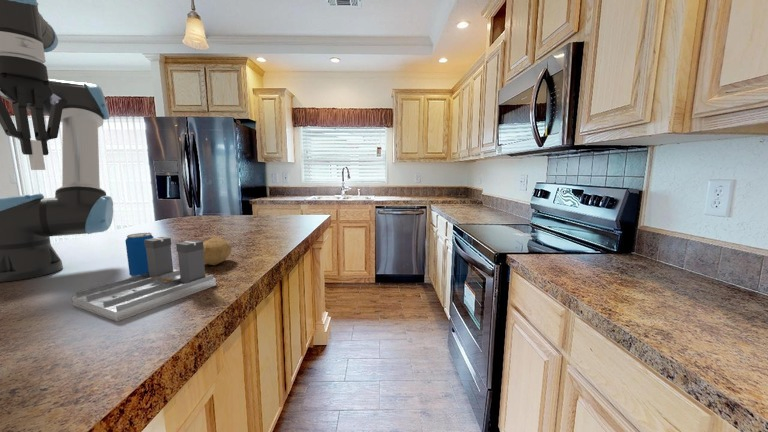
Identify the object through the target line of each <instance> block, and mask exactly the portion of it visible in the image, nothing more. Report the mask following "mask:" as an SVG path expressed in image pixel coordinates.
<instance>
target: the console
mask: <svg viewBox="0 0 768 432" xmlns="http://www.w3.org/2000/svg"><path fill="white" fill-rule="evenodd" d="M216 279H217V278H216V277H214V274H209V275H205V277H202V278H199V279H196V280H193V281H190V282H187V283H183V282H181V278H180V269H174V268H173V272H169V273H166V274H162V275H158V276H155V277H150V276H149V273H145V274H141V275H138V276H134V277H133V276H130V277H127V278H122V279H119V280H116V281H112V282H108V283H104V284H101V285H97V286H93V287H89V288H85V289H82V290H78V291H75V292H74V296H72V297H71V299H72V305H73V307H76V308H79V309H81V310H84V311H86V312H89V313H93V314H95V315H97V316H100V317H103V318H107V319H109V320H112V321H114V322H120V321H123V320H125V319H128V318H131V317H133V316H136V315H139V314H142V313H144V312H147V311H150V310H153V309H155V308H158V307H161V306H163V305H166V304H168V303H172V302H174V301H176V300H181V299H182V298H185V297H188V296H190V295H194V294H196V293H199V292H202V291H204V290H207V289H210V288H212V287H216V286H217V282H216V281H217V280H216Z"/></svg>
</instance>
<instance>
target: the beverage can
mask: <svg viewBox="0 0 768 432" xmlns="http://www.w3.org/2000/svg"><path fill="white" fill-rule="evenodd" d="M152 238H155V236H154V235H153V233H151V232H138V233H132V234H128V235H126V239H125V240H124V241H125V249H126V256H127V264H128V265H127V266H128V271H129V272H128V273H129V275H130V277H134V276H138V275H141V274H145V273H149V270H148V261H147V252H146V247H145V242H144V240H147V239H152Z"/></svg>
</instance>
